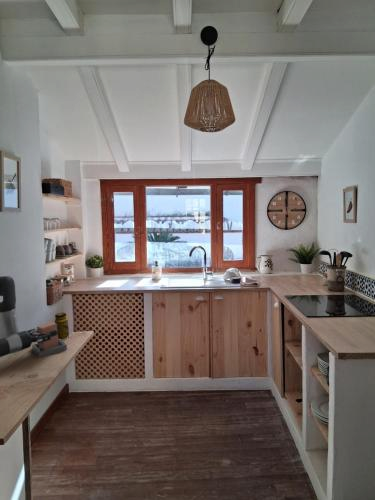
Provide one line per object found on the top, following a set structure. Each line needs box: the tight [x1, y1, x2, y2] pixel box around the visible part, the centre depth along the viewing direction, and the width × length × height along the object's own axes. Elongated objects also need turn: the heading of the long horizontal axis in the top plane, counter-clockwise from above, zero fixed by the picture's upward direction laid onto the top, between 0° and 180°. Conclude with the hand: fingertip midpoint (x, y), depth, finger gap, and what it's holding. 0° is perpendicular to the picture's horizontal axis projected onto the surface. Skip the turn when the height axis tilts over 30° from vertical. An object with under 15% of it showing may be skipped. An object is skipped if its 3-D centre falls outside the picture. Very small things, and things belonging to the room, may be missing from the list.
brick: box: [36, 321, 59, 351], centre depth 168 cm, size 4×7×11 cm, turn 141°
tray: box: [31, 338, 68, 358], centre depth 168 cm, size 12×12×2 cm
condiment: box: [54, 312, 73, 340], centre depth 183 cm, size 7×8×12 cm
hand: (51, 330), depth 169 cm, fingers open, 8 cm apart
